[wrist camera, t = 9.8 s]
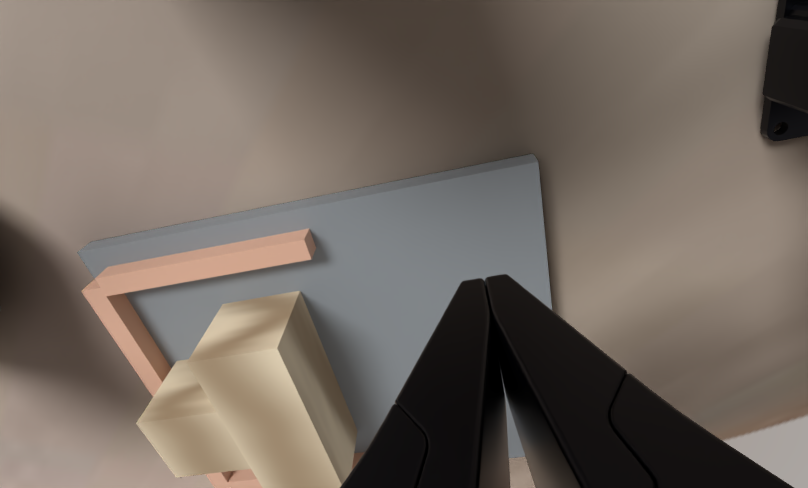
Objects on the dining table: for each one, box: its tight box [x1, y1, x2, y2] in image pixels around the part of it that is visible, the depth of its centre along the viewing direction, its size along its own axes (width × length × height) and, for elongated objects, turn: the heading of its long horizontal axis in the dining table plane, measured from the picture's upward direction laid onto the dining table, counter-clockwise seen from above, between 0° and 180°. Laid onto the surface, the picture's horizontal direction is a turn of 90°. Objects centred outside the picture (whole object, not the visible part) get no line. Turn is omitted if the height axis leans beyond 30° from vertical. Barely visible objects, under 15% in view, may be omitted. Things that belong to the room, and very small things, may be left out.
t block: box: [136, 291, 357, 488], centre depth 24 cm, size 8×10×4 cm
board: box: [77, 154, 552, 488], centre depth 25 cm, size 21×18×2 cm
